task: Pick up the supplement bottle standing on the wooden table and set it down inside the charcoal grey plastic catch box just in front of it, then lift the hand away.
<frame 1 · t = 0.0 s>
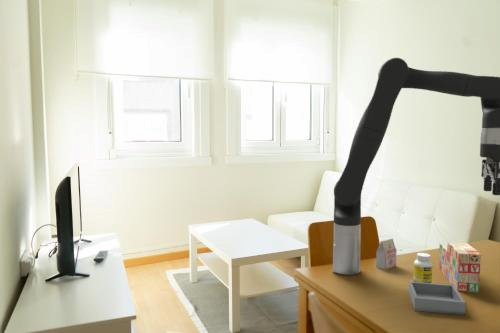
hand: (491, 193, 126), 29 cm above the table, tool pointing down, fingers open, 8 cm apart
herbal tea box: (386, 267, 144), on the table
stack of blocks: (457, 280, 131), on the table
supplement bottle: (422, 284, 127), on the table
catch box: (434, 303, 113), on the table
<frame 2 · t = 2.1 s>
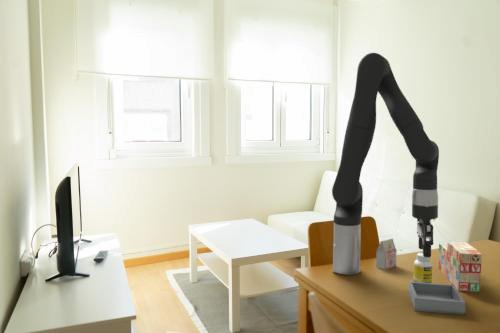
hand: (424, 252, 126), 10 cm above the table, tool pointing down, fingers open, 8 cm apart
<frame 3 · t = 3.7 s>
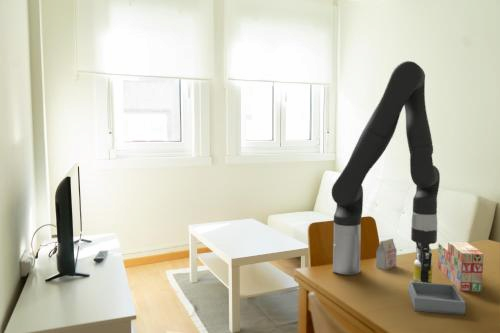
hand: (422, 278, 127), 2 cm above the table, tool pointing down, fingers closed on supplement bottle, 5 cm apart
supplement bottle: (422, 284, 127), on the table, touching gripper
everything else where it was.
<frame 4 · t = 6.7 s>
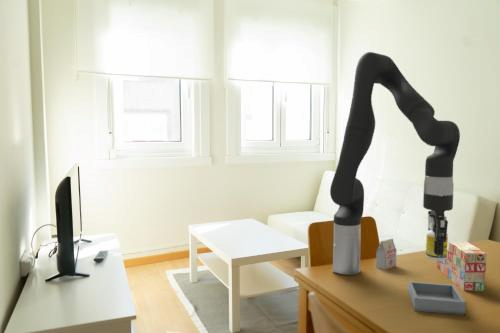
hand: (436, 250, 112), 15 cm above the table, tool pointing down, fingers closed on supplement bottle, 5 cm apart
supplement bottle: (436, 258, 112), point 13 cm above the table, touching gripper
when the fingers open (4 cm above the table, at t = 9.6 s): supplement bottle drops 1 cm, resting on catch box.
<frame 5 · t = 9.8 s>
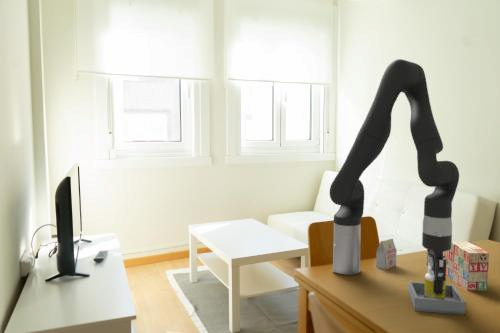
hand: (435, 288, 113), 4 cm above the table, tool pointing down, fingers open, 7 cm apart
supplement bottle: (434, 301, 113), resting on catch box
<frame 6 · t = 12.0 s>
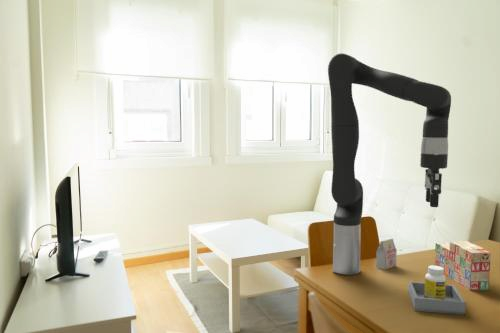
hand: (431, 204, 122), 27 cm above the table, tool pointing down, fingers open, 8 cm apart
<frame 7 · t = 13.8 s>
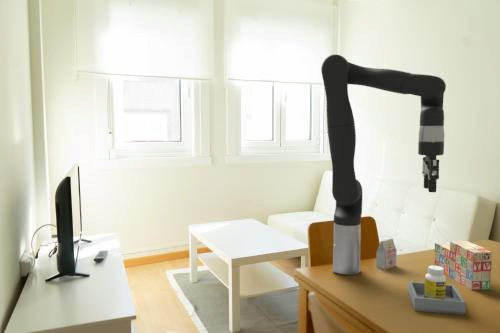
hand: (429, 190, 128), 30 cm above the table, tool pointing down, fingers open, 8 cm apart
at the end: supplement bottle inside the target area on the catch box (0.1 cm from its centre), point 0.4 cm above the catch box's base; the gripper is holding nothing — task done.
